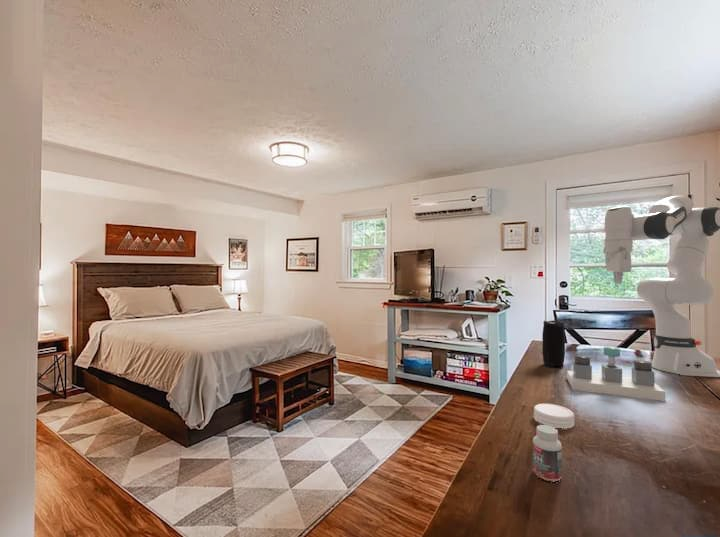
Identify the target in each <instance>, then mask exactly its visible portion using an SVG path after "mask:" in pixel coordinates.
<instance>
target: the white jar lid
mask: <svg viewBox="0 0 720 537" xmlns="http://www.w3.org/2000/svg"><path fill="white" fill-rule="evenodd" d="M533 419H534V420H535V422H537V421H538V422H540V423H542V424H544V425H547V426H551V427H554V428H562V429H561V430H568V429H567V428H570V429H572V428H573V427H574V426H575V413H574V412H573V410H570V409H569V408H567V407H564V406H562V405H557V404H553V403H538V404H536V405H534V407H533ZM538 422H537V423H538ZM540 423H539V424H540ZM542 424H541V425H542ZM563 428H564V429H563Z"/></svg>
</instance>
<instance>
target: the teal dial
mask: <svg viewBox="0 0 720 537" xmlns="http://www.w3.org/2000/svg"><path fill="white" fill-rule="evenodd" d="M603 355H604V356H607V357H608V361H607V362H608V366H611V367H615V365H616V358H617V357H618V358H619V357H621V348H618V347H613V346H604V347H603Z"/></svg>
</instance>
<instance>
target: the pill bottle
mask: <svg viewBox="0 0 720 537" xmlns="http://www.w3.org/2000/svg"><path fill="white" fill-rule="evenodd" d="M558 430H559V429H555V428H554V427H551V426H547V425H542V424H539V425H537V426H536V435H535V436H533V438H532V472H533V471H534V472H535V473H536V474H537V475H539V476H541V477H542V478H545V479H548V480H553V481H555V480H556V481H557V480H560V479H561V478H562V479H563V476H562V475H563V445H562V442H561V441H560V440H559V431H558ZM562 479H561V480H562Z"/></svg>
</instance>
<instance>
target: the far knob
mask: <svg viewBox="0 0 720 537" xmlns="http://www.w3.org/2000/svg"><path fill="white" fill-rule="evenodd" d="M574 361H575V363H576V364H580V365H591V357H590V356H588V355H582V354H576V355H574Z"/></svg>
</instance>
